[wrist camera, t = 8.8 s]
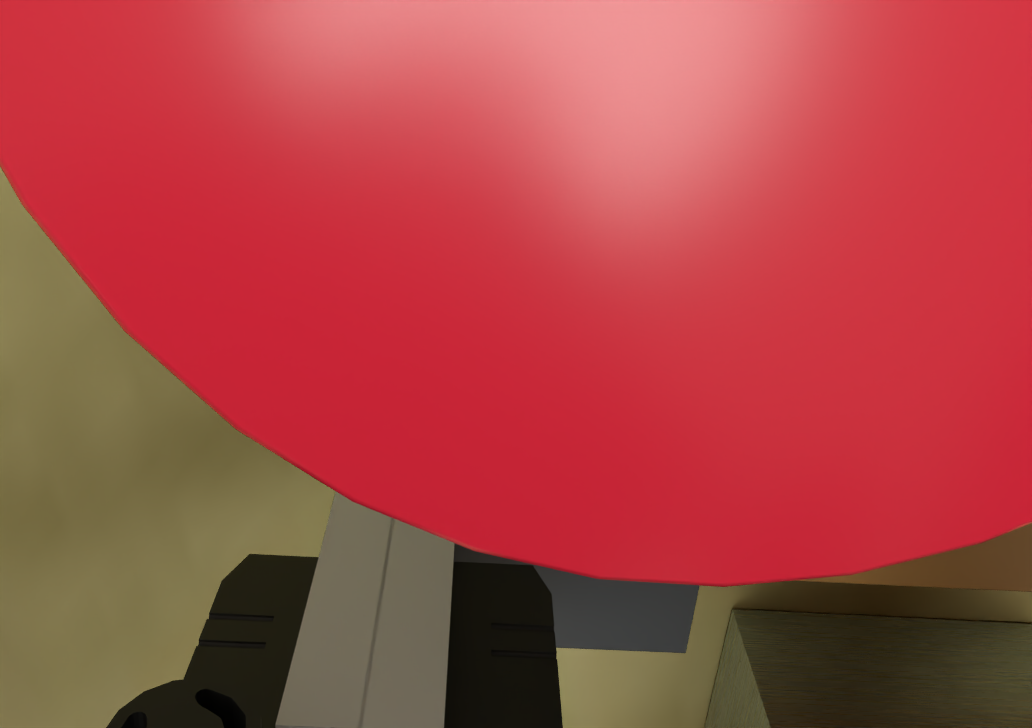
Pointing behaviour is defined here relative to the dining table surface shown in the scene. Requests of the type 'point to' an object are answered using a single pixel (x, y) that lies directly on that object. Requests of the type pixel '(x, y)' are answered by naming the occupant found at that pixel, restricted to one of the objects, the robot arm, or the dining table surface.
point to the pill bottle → (570, 259)
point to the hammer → (670, 607)
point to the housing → (871, 672)
